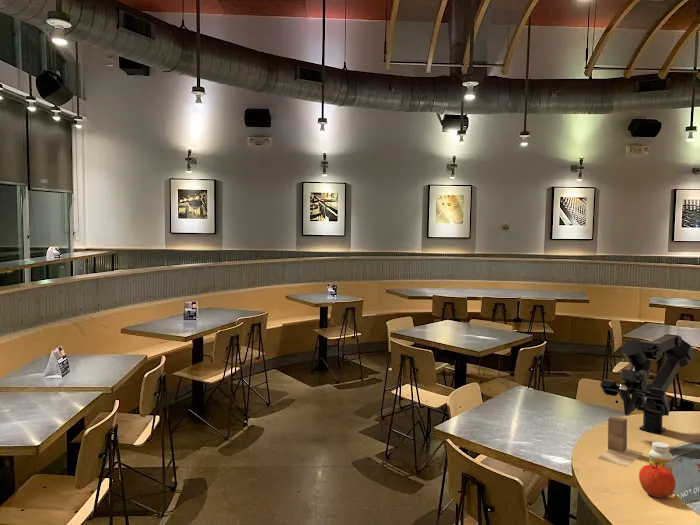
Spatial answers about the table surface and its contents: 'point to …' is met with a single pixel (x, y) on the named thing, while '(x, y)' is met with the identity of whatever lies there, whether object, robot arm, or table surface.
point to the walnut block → (617, 434)
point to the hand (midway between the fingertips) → (626, 414)
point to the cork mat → (621, 457)
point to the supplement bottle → (661, 456)
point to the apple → (657, 480)
